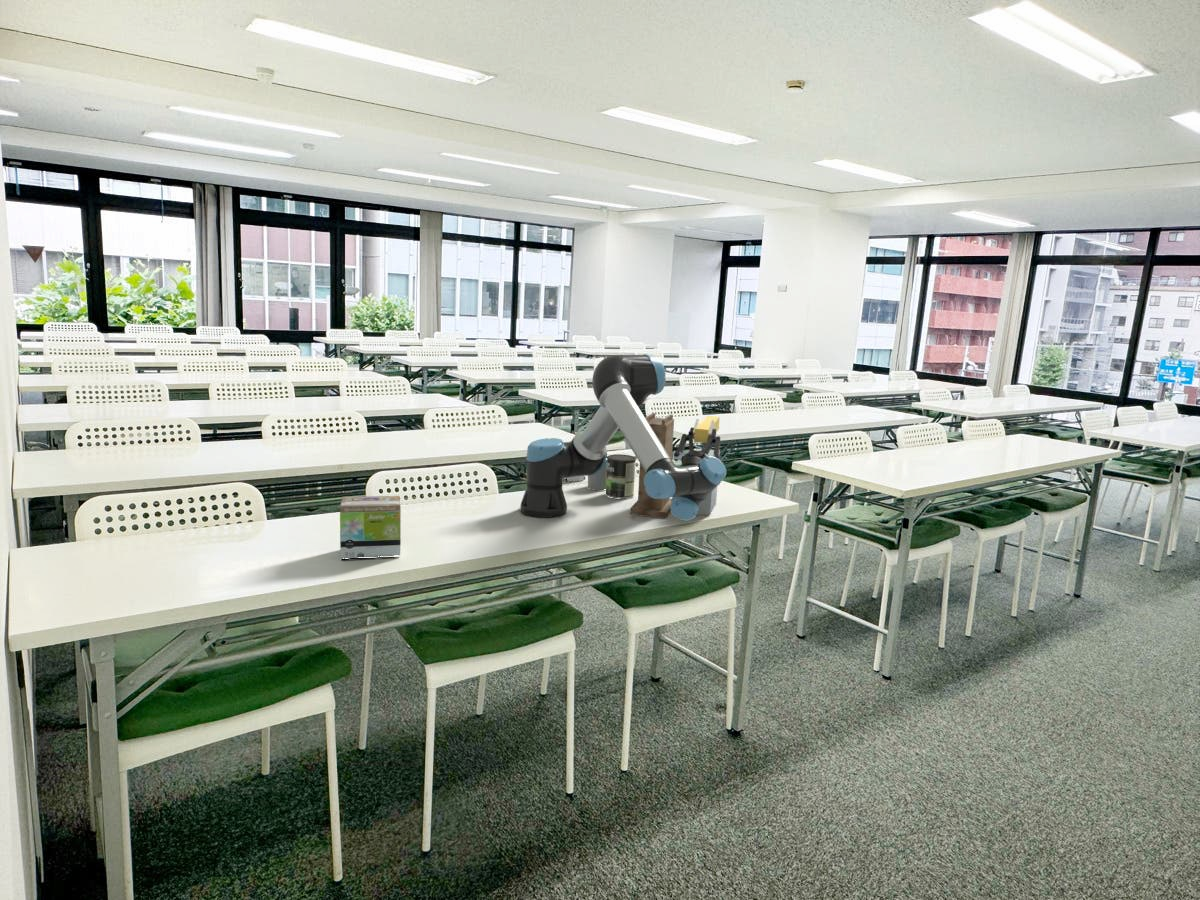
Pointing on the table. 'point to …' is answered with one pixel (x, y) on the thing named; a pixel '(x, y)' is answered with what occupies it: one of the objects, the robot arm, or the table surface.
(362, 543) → the tea box
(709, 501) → the grey slab
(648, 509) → the stand
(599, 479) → the cup
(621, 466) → the coffee can
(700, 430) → the block
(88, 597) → the table surface
